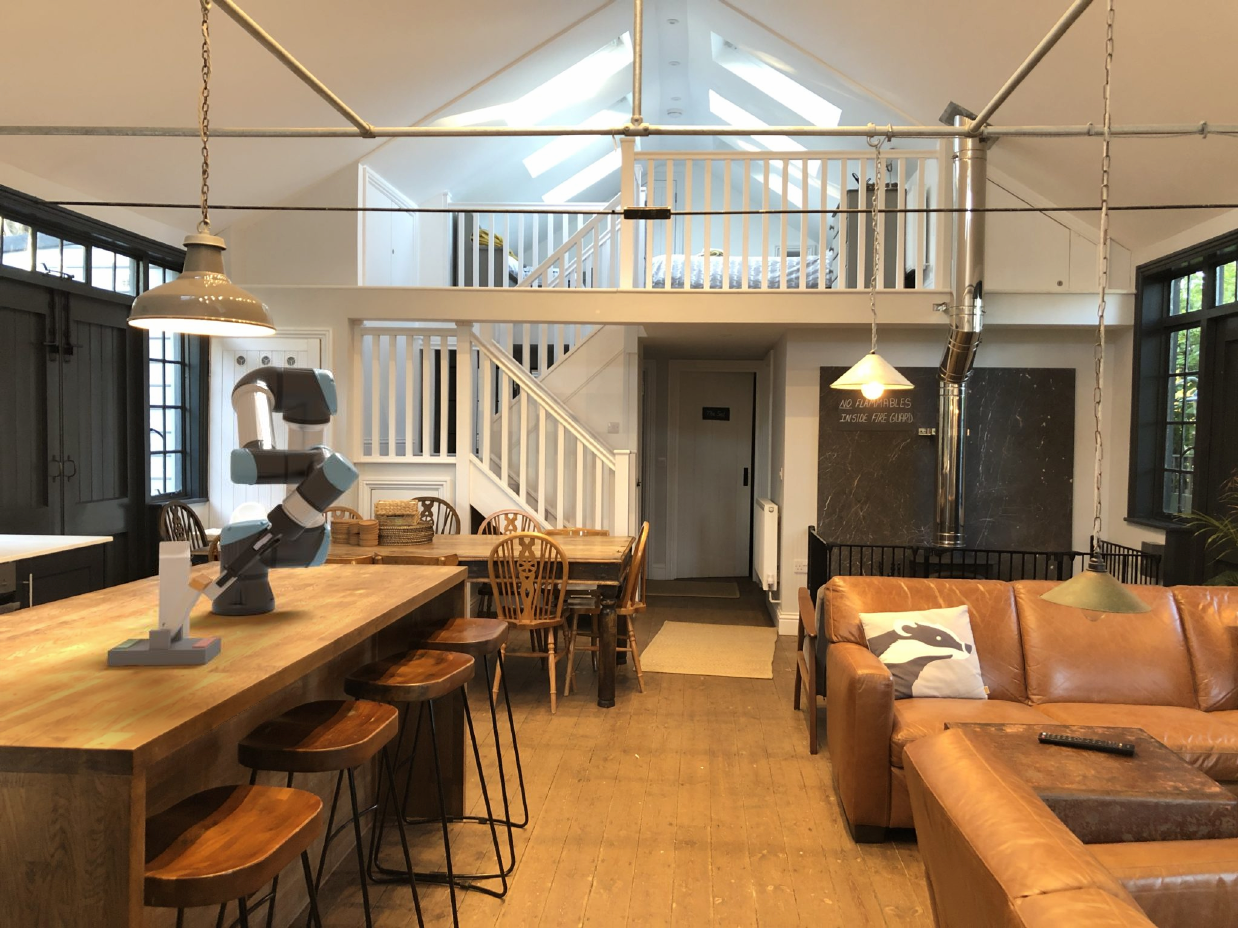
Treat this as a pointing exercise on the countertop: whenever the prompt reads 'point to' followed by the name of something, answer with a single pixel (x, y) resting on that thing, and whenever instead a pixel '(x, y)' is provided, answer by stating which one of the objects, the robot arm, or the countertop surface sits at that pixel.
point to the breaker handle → (187, 603)
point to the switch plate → (164, 650)
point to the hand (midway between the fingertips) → (207, 595)
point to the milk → (173, 579)
